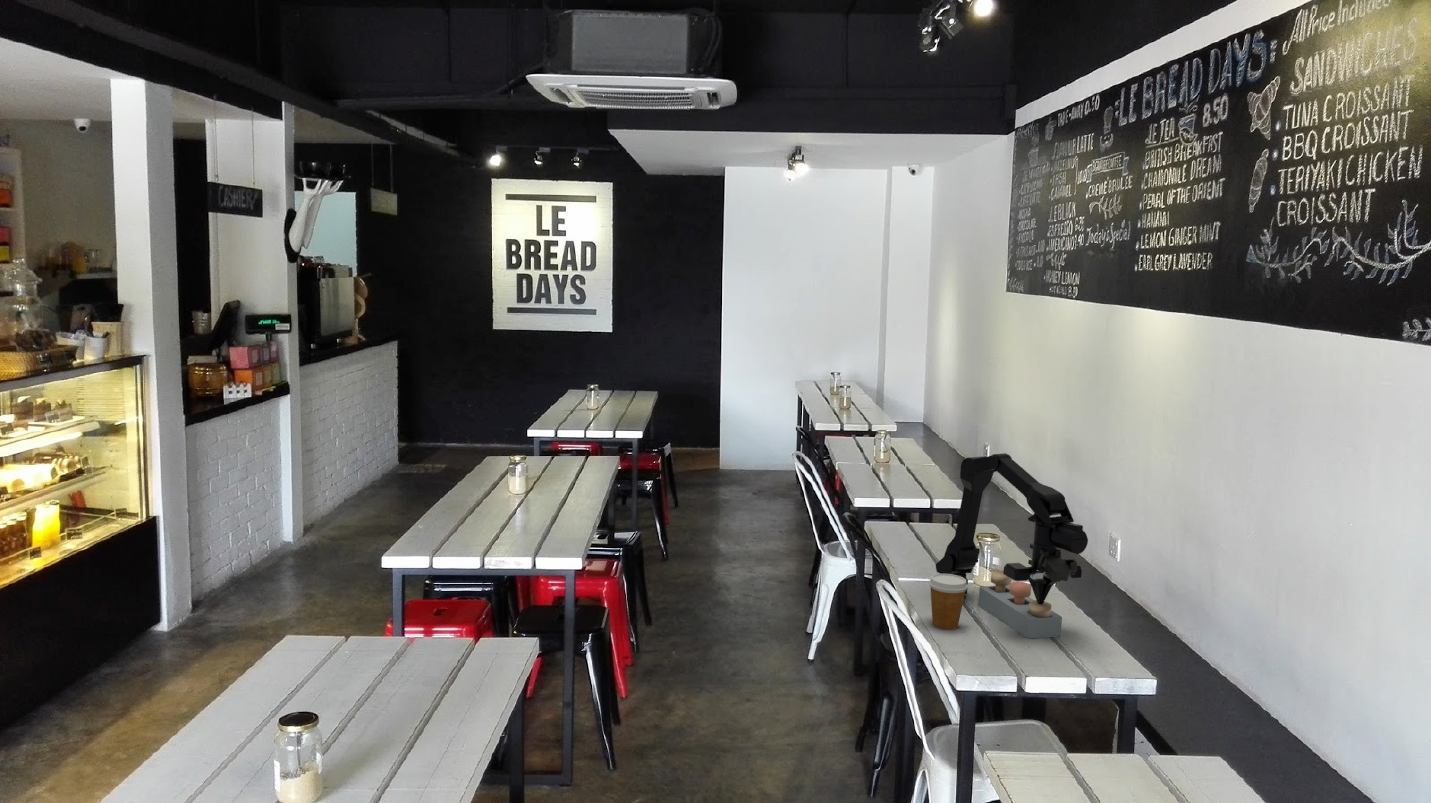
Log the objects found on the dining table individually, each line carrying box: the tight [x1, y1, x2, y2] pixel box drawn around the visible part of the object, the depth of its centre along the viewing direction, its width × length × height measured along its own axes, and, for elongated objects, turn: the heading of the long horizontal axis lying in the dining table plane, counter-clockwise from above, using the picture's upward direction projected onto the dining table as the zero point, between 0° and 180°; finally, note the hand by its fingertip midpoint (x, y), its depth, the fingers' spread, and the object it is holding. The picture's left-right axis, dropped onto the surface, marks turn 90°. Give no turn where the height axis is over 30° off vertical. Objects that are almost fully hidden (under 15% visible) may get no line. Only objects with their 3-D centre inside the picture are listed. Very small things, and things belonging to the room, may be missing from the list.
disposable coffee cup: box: [928, 573, 969, 630], centre depth 254 cm, size 10×10×12 cm
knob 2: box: [1029, 599, 1052, 618], centre depth 251 cm, size 5×5×7 cm
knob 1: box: [990, 569, 1012, 593], centre depth 268 cm, size 5×5×7 cm
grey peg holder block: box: [977, 585, 1063, 640], centre depth 260 cm, size 9×24×5 cm, turn 15°
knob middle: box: [1009, 580, 1032, 605], centre depth 259 cm, size 5×5×7 cm
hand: (1040, 603), depth 250 cm, fingers closed, pressing on knob 2
